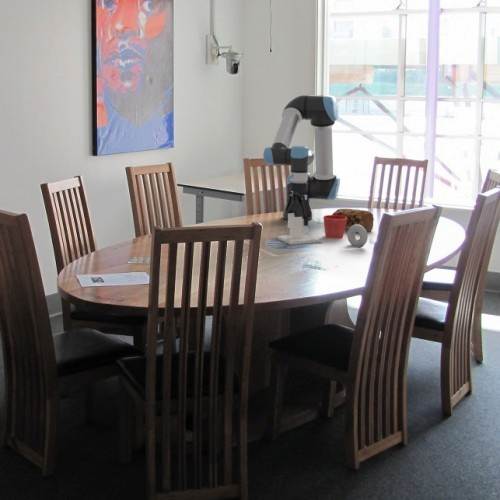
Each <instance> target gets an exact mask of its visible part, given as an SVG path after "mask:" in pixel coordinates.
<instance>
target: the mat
mask: <svg viewBox="0 0 500 500" xmlns="http://www.w3.org/2000/svg"><path fill="white" fill-rule="evenodd" d="M272 239H274V240H276V241H278V242H280V243H283V244H285V245H288V246H289V247H293V246H295V247H296V246H306V245H308V246H309V245H320V244H323V242H321V241H319V240H317V242H315V243H303V244H289V243H286V242H284V241H282V240H279V239H278V237H272Z"/></svg>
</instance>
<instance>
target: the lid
mask: <svg viewBox="0 0 500 500" xmlns="http://www.w3.org/2000/svg"><path fill="white" fill-rule="evenodd" d="M301 231H302V217H292V218H290V228H289V235H287V234H286V235H278V236H277V238H278V239H279V240H282V241H284V242H286V243H289V244H303V243H315V242H317V241H318V239H317V238H315V237H312V236H309V235H307V234H306V233H301Z"/></svg>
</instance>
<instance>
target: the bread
mask: <svg viewBox="0 0 500 500" xmlns="http://www.w3.org/2000/svg"><path fill="white" fill-rule="evenodd" d="M331 215H340V216H345V217H347V221H346V226H345V231H347V232H348V230H349V228H350V227H351V226H353V225H355V224H359V225H361V226H363V227H364V228H365V229H366V231H367V233H369V232H372V230H373V227H374V221H375V219H374V214H373V213H372V212H371V211H369V210H363V209H356V208H355V209H353V208H339V209H337V210H335V211H333V213H332V214H331Z"/></svg>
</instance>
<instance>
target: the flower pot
mask: <svg viewBox="0 0 500 500" xmlns="http://www.w3.org/2000/svg"><path fill="white" fill-rule="evenodd" d="M322 218H323V227H324V234H325V235H324V236H325V238H328V239H344V236H345V231H346V230H345V226H346V221H347V217H345V216H340V215H332V214H329V215H328V214H327V215H323V217H322Z"/></svg>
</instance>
